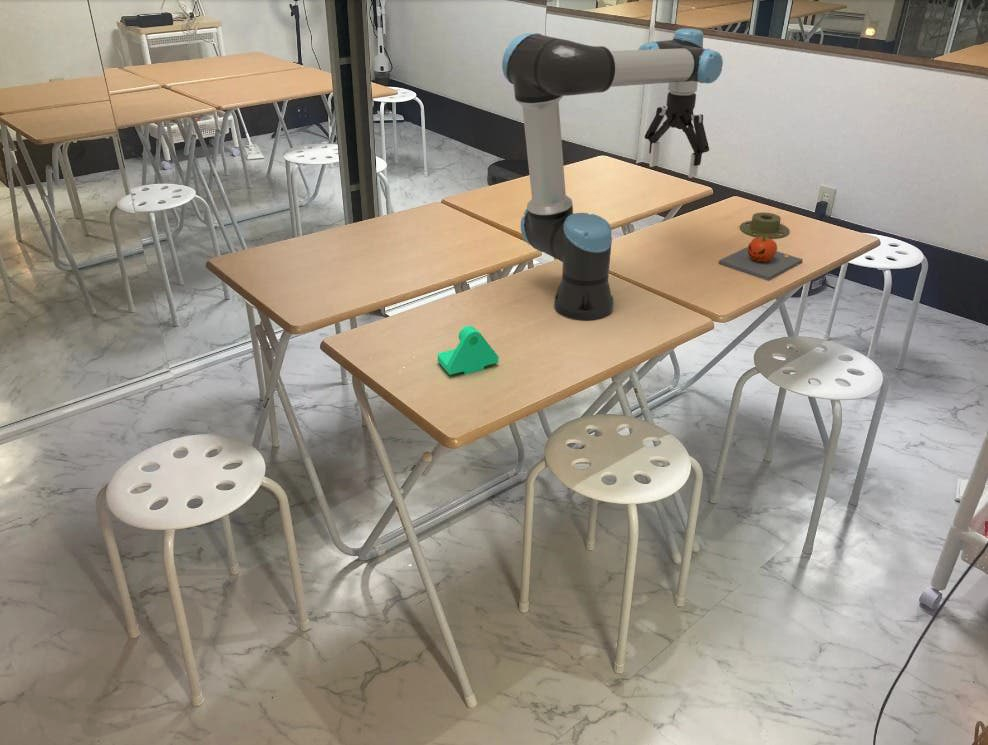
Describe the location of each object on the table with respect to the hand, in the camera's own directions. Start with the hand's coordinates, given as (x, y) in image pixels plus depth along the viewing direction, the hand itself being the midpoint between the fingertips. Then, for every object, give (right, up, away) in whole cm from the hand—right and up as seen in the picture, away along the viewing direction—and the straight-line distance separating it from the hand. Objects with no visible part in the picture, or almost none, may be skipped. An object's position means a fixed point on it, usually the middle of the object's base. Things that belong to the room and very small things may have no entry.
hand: (672, 171), depth 223 cm
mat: (+27, -25, +6) cm, 37 cm away
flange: (+35, -12, +29) cm, 47 cm away
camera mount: (-56, -55, -42) cm, 89 cm away
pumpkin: (+26, -24, +5) cm, 36 cm away
